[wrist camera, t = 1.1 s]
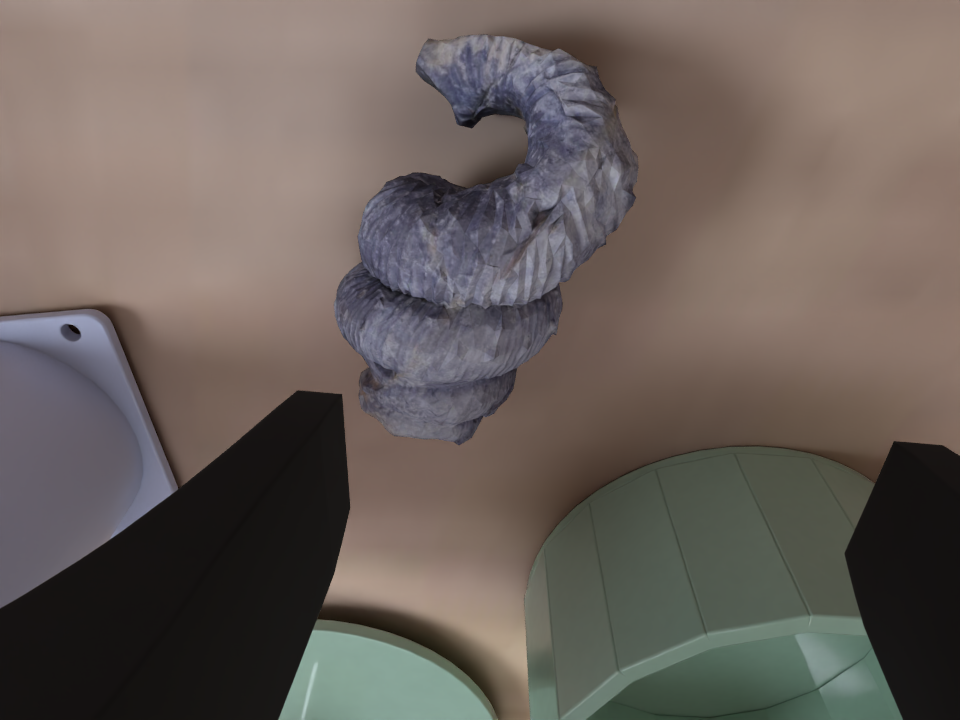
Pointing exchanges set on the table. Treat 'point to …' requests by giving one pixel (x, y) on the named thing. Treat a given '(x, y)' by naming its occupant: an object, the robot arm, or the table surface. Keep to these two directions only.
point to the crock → (706, 596)
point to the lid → (378, 679)
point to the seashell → (483, 240)
